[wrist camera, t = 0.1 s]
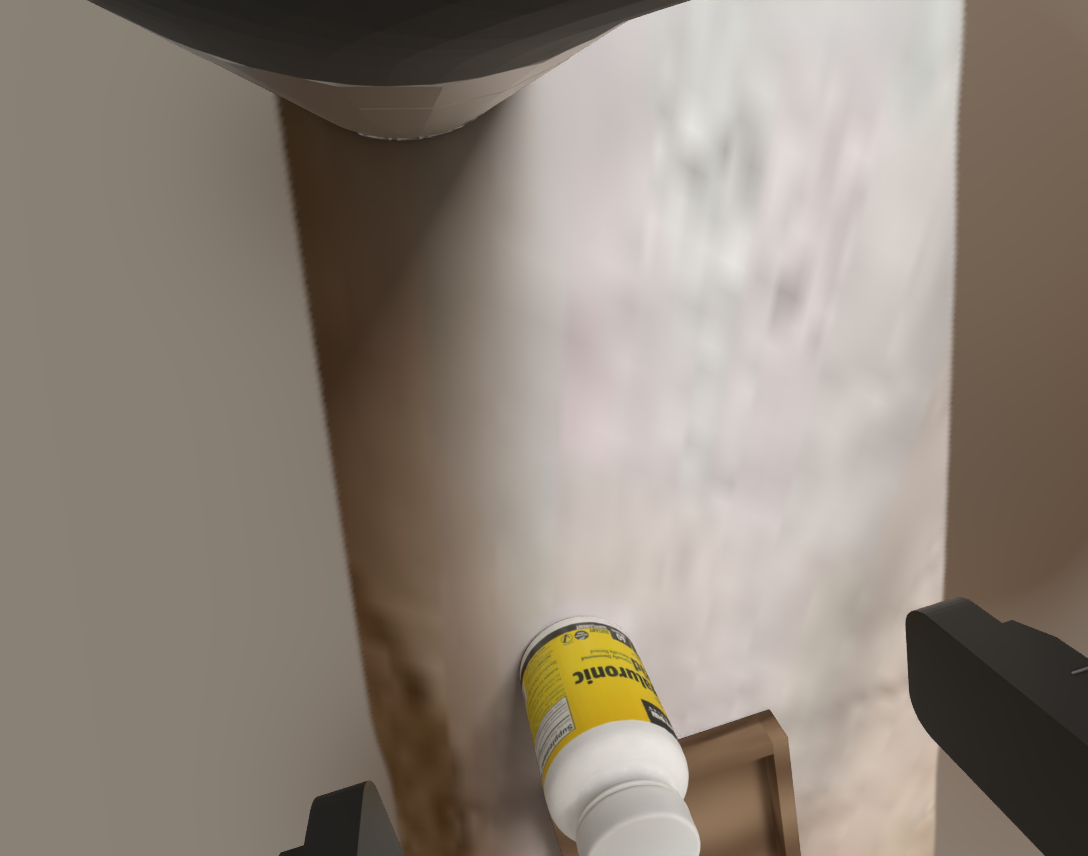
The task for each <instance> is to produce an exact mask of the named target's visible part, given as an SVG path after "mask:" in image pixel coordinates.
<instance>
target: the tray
mask: <svg viewBox="0 0 1088 856" xmlns="http://www.w3.org/2000/svg"><path fill="white" fill-rule="evenodd" d="M679 743H680V746H681V748H682V751H683V753H684V756H685V758H686V761H687V766H688V772H689V780H688V787H687V792H686V795H685V797H684V801H685V803H686V805H687V806H688V808H689V811H690V814H691V817H692V819H693V822H694V824H695V826H696V829H697V831H698V834H699V837H700V853H699V856H801V853H800V844H799V834H798V825H797V816H796V807H795V798H794V789H793V780H792V771H791V761H790V752H789V743H788V736H787V735H786V733H785V732H784V730H783V729H782V727H781V726H780V724H779V723H778V721H777V720H776V718H775V717H774V715H773V714H772V712H771V711H770V710H767V711H764V712H761V713H758V714H755V715H752V716H748V717H745V718H742V719H739V720H736V721H733V722H730V723H727V724H724V725H721V726H718V727H715V728H712V729H709V730H706V731H703V732H700V733H697V734H694V735H691V736H688V737H685V738H682V739H679ZM549 814H550V812H549ZM550 818H551V821H552V824H553V827H554V830H555V833H556V836H557V840H558V843H559V846H560V849H561V852H562V855H563V856H579V853H578V849H577V844H576V842H575V841H574V840H572V839H570V838H569V837H567V836H566V835H565V834H564V833H563V832H562V831H561V830H560V829H559V828H558V827H557V825H556V824H555V822H554V821H553V819H552V817H551V815H550Z"/></svg>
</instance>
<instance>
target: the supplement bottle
mask: <svg viewBox="0 0 1088 856" xmlns="http://www.w3.org/2000/svg"><path fill="white" fill-rule="evenodd" d="M520 681H521V689H522V693H523V698H524V702H525V707H526V712H527V716H528V721H529V725H530V730H531V734H532V739H533V744H534V748H535V753H536V758H537V763H538V767H539V771H540V777H541V782H542V787H543V791H544V796H545V800H546V803H547V806H548V810H549V812H550V815H551V817H552V819H553V821H554V822H555V824H556V825H557V827H558V828H559V829H560V830H561V831H562V832H563V833H564V834H565V835H566V836H567V837H569V838H570V839H572V840H574V841H575V842H576V844H577V849H578V853H579V856H699V853H700V837H699V834H698V831H697V829H696V826H695V824H694V822H693V819H692V817H691V814H690V811H689V808H688V806H687V805H686V803H685V801H684V797H685V795H686V792H687V787H688V780H689V772H688V766H687V761H686V758H685V756H684V753H683V751H682V748H681V746H680V743H679V740H678V738H677V736H676V735H675V733H674V731H673V728H672V726H671V724H670V722H669V720H668V718H667V715H666V713H665V711H664V709H663V707H662V705H661V703H660V701H659V698H658V696H657V694H656V692H655V690H654V688H653V686H652V684H651V681H650V679H649V677H648V675H647V673H646V671H645V668H644V667H643V664H642V662H641V660H640V658H639V656H638V654H637V652H636V650H635V648H634V646H633V644H632V642H631V640H630V639H629V637H628V636H627V635H626V633H625V632H624V631H623V630H622V629H621V628H619V627H618V626H617V625H615V624H613V623H612V622H610V621H607V620H605V619H601V618H597V617H588V616H582V617H573V618H568V619H565V620H562V621H559V622H557V623H555V624H553V625H551V626H549V627H548V628H546V629H545V630H543V631H542V632H541V633H540V634H539V635H538V636H537V637H536V638H535V639H534V640H533V641H532V642H531V644H530V645H529V646H528V648H527V650H526V652H525V654H524V656H523V659H522V662H521V667H520Z"/></svg>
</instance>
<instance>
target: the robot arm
mask: <svg viewBox="0 0 1088 856" xmlns="http://www.w3.org/2000/svg"><path fill="white" fill-rule="evenodd" d="M88 1H90V2H92V3H94V4H96V5H98V6H100V7H102V8H104V9H106V10H108V11H110V12H112V13H114V14H116V15H118V16H120V17H122V18H124V19H126V20H128V21H130V22H132V23H134V24H136V25H138V26H140V27H142V28H144V29H146V30H148V31H150V32H152V33H154V34H156V35H158V36H160V37H162V38H164V39H166V40H168V41H170V42H172V43H174V44H176V45H178V46H179V47H181V48H183V49H186V50H187V51H190V52H192V53H193V54H195V55H198V56H200V57H202V58H204V59H206V60H209V61H211V62H213V63H215V64H217V65H219V66H221V67H223V68H225V69H227V70H229V71H231V72H233V73H235V74H237V75H239V76H241V77H243V78H245V79H247V80H249V81H251V82H253V83H255V84H257V85H259V86H261V87H263V88H265V89H266V90H268V91H270V92H272V93H274V94H276V95H278V96H280V97H282V98H284V99H286V100H288V101H290V102H292V103H294V104H296V105H298V106H300V107H302V108H304V109H306V110H308V111H310V112H312V113H314V114H316V115H318V116H319V117H321V118H323V119H325V120H327V121H329V122H331V123H333V124H335V125H337V126H339V127H342V128H345V129H348V130H351V131H354V132H357V133H358V134H359V135H362V136H366V137H371V138H376V139H383V140H385V139H387V140H393V139H394V140H397V141H401V140H419V139H424V138H431V137H434V136H438V135H442V134H445V133H448V132H451V131H452V129H453V130H455V129H458V128H461V127H463V126H465V125H467V124H469V123H470V122H472V121H474V120H475V119H477V118H479V117H480V116H482V115H483V114H484V113H486V112H487V111H488V110H490V109H491V108H492V107H494V106H495V105H497V104H498V103H500V102H501V101H503V100H505V99H506V98H508V97H509V96H511V95H512V94H514V93H516V92H517V91H519V90H520V89H522V88H523V87H525V86H527V85H528V84H530V83H531V82H533V81H535V80H536V79H538V78H539V77H541V76H542V75H544V74H546V73H547V72H549V71H550V70H552V69H553V68H555V67H557V66H558V65H560V64H561V63H563V62H564V61H566V60H568V59H569V58H570V57H572V56H573V55H575V54H576V53H578V52H579V51H581V50H583V49H584V48H586V47H587V46H589V45H590V44H592V43H593V42H595V41H597V40H598V39H600V38H601V37H603V36H604V35H606V34H608V33H609V32H611V31H612V30H614V29H615V28H617V27H619V26H620V25H622V24H623V23H625V22H626V21H628V20H631V19H634V18H637V17H640V16H643V15H646V14H649V13H652V12H655V11H658V10H661V9H664V8H668V7H671V6H674V5H677V4H680V3H683V2H686V1H690V0H88ZM906 643H907V661H908V679H909V694H910V699H911V702H912V705H913V708H914V710H915V713H916V715H917V717H918V719H919V721H920V722H921V724H922V726H923V727H924V729H925V730H926V731H927V733H928V734H929V735H930V736H931V738H932V739H933V740H934V741H935V742H936V743H937V744H938V745H939V746H940V747H941V748H942V749H943V750H944V751H945V752H946V753H947V754H948V755H949V756H950V757H951V759H952V760H954V762H955V763H957V765H958V766H959V767H960V768H961V769H962V770H963V771H964V772H965V773H966V774H967V775H968V776H969V777H970V778H971V779H972V780H973V781H974V782H975V783H976V784H977V786H978V787H979V788H980V789H981V790H982V791H983V792H984V793H985V794H986V795H987V796H988V797H989V798H990V799H991V800H992V801H993V802H994V803H995V804H996V805H997V806H998V807H999V808H1000V809H1001V811H1002V812H1003V813H1004V814H1005V815H1006V816H1007V817H1008V818H1009V819H1010V820H1011V821H1012V822H1013V823H1014V824H1015V825H1016V826H1017V827H1018V828H1019V829H1020V830H1021V831H1022V832H1023V833H1024V835H1025V836H1027V837H1028V839H1029V840H1030V841H1031V842H1032V843H1033V844H1034V845H1035V846H1036V847H1037V848H1038V849H1039V850H1040V851H1041V852H1042V853H1043V854H1044V855H1045V856H1088V658H1086V657H1085V656H1084V655H1082V654H1081V653H1079V652H1078V651H1076V650H1075V649H1073V648H1072V647H1070V646H1069V645H1067V644H1066V643H1064V642H1063V641H1061V640H1060V639H1058V638H1057V637H1055V636H1052V635H1049V634H1047V633H1044V632H1041V631H1039V630H1036V629H1034V628H1031V627H1029V626H1026V625H1023V624H1021V623H1018V622H1015V621H1013V620H1011V621H1008V622H1005V623H1001V622H1000V621H998V620H997V619H996V618H994V617H993V616H991V615H990V614H989V613H987V612H986V611H984V610H983V609H982V608H980V607H979V606H978V605H976V604H975V603H973V602H972V601H970V600H968V599H966V598H963V597H955V598H952V599H949V600H946V601H943V602H939V603H936V604H933V605H930V606H927V607H924V608H920V609H917V610H914V611H911V612H910V613H909V614H908V615H907V617H906ZM279 856H404V853H403V851H402V848H401V846H400V844H399V841H398V839H397V836H396V834H395V832H394V829H393V827H392V824H391V822H390V820H389V817H388V815H387V812H386V810H385V808H384V805H383V803H382V800H381V798H380V796H379V793H378V791H377V789H376V787H375V785H374V783H372V782H371V781H366V782H363V783H359V784H356V785H353V786H350V787H347V788H344V789H340V790H337V791H334V792H331V793H328V794H324V795H321V796H318V797H316V798H315V799H314V801H313V803H312V806H311V810H310V815H309V821H308V826H307V831H306V837H305V842H304V845H303V846H300V847H297V848H294V849H291V850H288V851H284V852H281V853H280V855H279Z"/></svg>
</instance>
